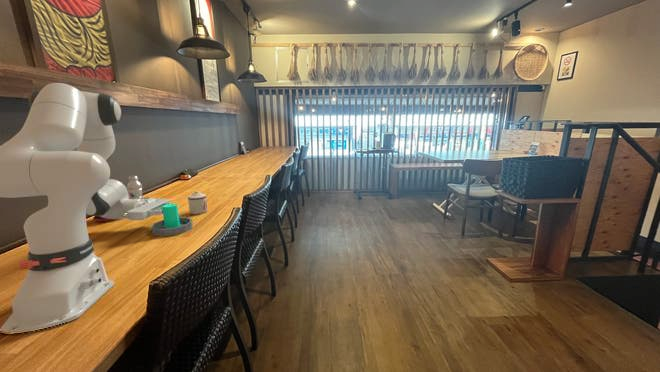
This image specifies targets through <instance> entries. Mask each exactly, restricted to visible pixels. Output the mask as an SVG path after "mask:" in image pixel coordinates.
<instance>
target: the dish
mask: <svg viewBox="0 0 660 372" xmlns="http://www.w3.org/2000/svg"><path fill="white" fill-rule="evenodd" d="M179 221H180V226H179V227H175V228H168V229H165V224H164V219H162V220H159V221H156V222H154V223H152V225H151V226H150V228H151V233H152V235H154V236H155V237H169V236H170V237H171V236H176V235H180V234H183V233H187V232H188V231H190V230H192V229H193V226H194V225H193V224H194V223H193V222H194V221H193V219H192V218H191V217H187V216H186V217H184V216H179Z"/></svg>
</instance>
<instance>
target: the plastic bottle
mask: <svg viewBox="0 0 660 372" xmlns="http://www.w3.org/2000/svg"><path fill="white" fill-rule="evenodd" d="M126 187H127V190H128V193H129V199H142V198H144V196H143V184H142V183H141V182H140V181H139V178H138V175H130V176H128V183H127V185H126Z"/></svg>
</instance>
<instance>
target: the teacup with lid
mask: <svg viewBox="0 0 660 372" xmlns="http://www.w3.org/2000/svg"><path fill="white" fill-rule="evenodd" d="M187 201H188V209H189V214H191V215H201V214H202V215H203V214H205V213H207V212H208V204H207V202H208V201H207V195H206V193H201V192H199V190H195V191H194V193H192V194H190V195H188V196H187Z"/></svg>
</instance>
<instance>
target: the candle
mask: <svg viewBox="0 0 660 372" xmlns="http://www.w3.org/2000/svg"><path fill="white" fill-rule="evenodd" d="M170 203H171V204H170ZM162 210H163V214H162V217H163V220H164V224H165V229H168V228H175V227H179V226H180V221H179V217H180V214H179V206H178V203H172V202H171V201H170V202H169V204H166V205H164V206H162Z"/></svg>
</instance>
